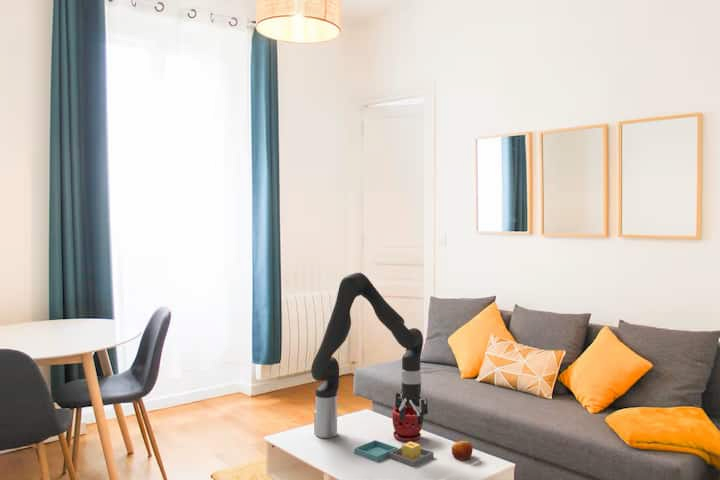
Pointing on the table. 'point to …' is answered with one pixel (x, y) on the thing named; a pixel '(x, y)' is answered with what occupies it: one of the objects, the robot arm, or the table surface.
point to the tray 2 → (397, 456)
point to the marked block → (411, 450)
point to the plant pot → (406, 425)
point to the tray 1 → (374, 450)
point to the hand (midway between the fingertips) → (411, 422)
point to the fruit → (462, 450)
